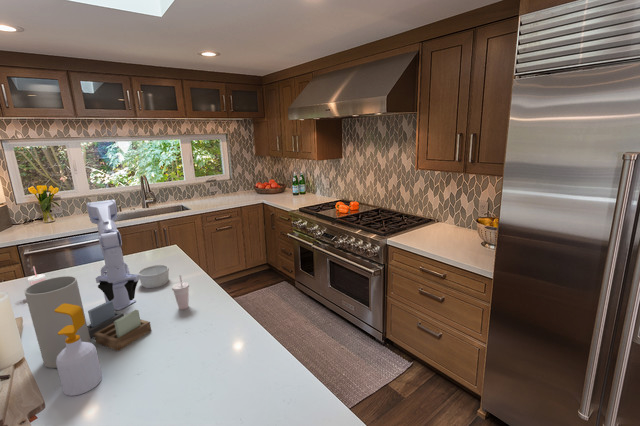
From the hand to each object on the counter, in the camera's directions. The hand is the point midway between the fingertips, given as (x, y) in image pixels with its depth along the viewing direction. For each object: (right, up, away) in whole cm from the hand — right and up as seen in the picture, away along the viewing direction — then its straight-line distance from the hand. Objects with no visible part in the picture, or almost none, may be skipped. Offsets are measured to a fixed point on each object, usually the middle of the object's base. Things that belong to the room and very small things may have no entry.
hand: (121, 299), depth 121 cm
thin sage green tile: (+7, -12, -7) cm, 15 cm away
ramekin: (-6, -2, +37) cm, 37 cm away
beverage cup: (-54, -6, +29) cm, 61 cm away
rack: (+4, -12, -5) cm, 13 cm away
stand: (-7, -11, +1) cm, 12 cm away
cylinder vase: (-8, -15, -15) cm, 22 cm away
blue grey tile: (-7, -11, +1) cm, 13 cm away
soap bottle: (+6, -17, -27) cm, 33 cm away
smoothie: (+17, -7, +13) cm, 23 cm away
